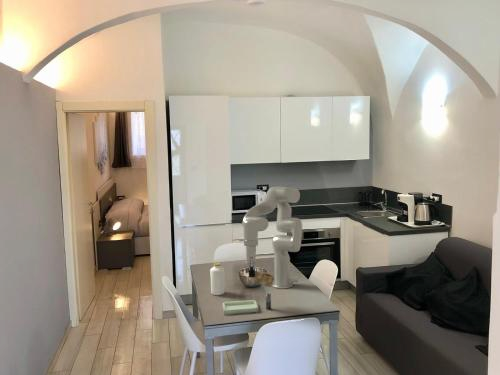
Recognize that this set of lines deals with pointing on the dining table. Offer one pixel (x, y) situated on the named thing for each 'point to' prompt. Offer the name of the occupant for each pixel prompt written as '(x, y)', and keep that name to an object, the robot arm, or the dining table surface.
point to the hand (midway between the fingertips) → (251, 275)
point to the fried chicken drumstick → (263, 278)
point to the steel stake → (268, 301)
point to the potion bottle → (217, 279)
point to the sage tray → (240, 307)
